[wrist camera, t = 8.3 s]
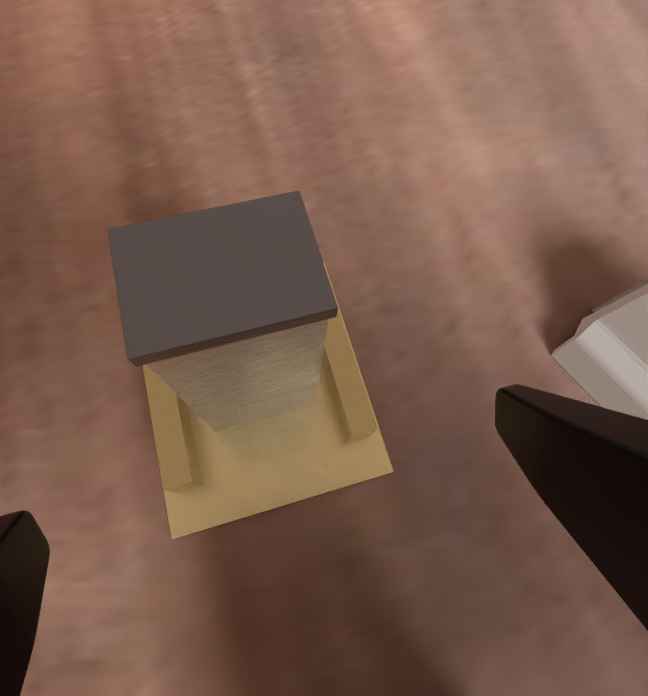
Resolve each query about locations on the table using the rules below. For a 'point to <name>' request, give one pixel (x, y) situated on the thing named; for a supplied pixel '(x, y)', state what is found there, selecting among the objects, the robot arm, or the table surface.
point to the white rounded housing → (612, 353)
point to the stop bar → (227, 306)
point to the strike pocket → (267, 447)
